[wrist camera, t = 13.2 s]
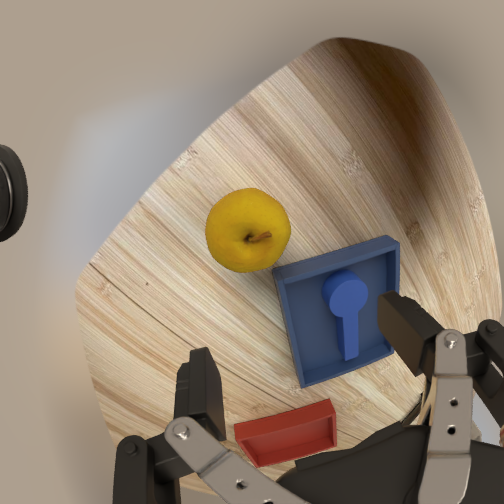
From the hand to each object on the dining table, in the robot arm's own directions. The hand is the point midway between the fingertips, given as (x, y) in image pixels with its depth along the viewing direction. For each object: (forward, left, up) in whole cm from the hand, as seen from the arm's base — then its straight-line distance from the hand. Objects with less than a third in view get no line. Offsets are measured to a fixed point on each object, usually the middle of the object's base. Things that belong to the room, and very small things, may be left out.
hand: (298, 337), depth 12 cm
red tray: (-3, -35, -15) cm, 39 cm away
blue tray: (+7, -12, -15) cm, 21 cm away
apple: (-1, +2, -15) cm, 15 cm away
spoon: (+8, -12, -15) cm, 20 cm away
